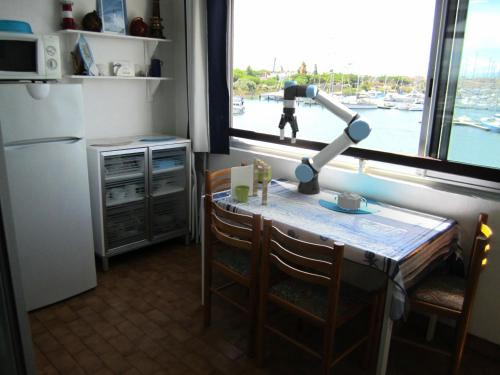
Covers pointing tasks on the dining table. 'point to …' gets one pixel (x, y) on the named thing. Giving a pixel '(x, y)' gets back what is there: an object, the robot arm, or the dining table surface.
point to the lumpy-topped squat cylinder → (349, 200)
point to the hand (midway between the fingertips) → (287, 141)
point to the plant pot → (242, 193)
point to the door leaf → (241, 179)
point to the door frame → (265, 179)
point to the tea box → (260, 176)
